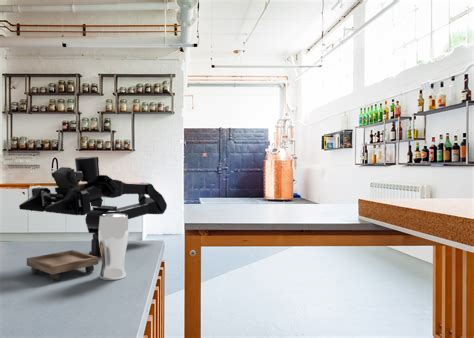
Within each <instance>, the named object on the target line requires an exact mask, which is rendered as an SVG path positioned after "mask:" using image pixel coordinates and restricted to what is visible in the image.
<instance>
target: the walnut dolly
mask: <svg viewBox="0 0 474 338" xmlns="http://www.w3.org/2000/svg"><path fill="white" fill-rule="evenodd" d="M98 265H99V256H97V255H93V254H88V253H84V252H81V251H76V250H72V249H70V250H66V251H60V252H55V253H49V254H44V255H37V256H31V257H26V266H27V267H30V270H31V273H32V275H35V274H39V273H40V272H41V271H42V272H44V273H47V274H50V280H51V282H55V281H58V280H60V277H61V275H60V273H65V272H69V271H70V272H71V271H76V270H78V269H83V268H84V270H85V272H86V273H87V274H90V273H94V272H95V271H94V270H95V266H98Z"/></svg>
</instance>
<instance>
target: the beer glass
mask: <svg viewBox="0 0 474 338" xmlns="http://www.w3.org/2000/svg"><path fill="white" fill-rule="evenodd" d="M129 231H130V230H129V219H128V215H127V214H103V215H100V220H99V246H100V252H101V256H100V257H101V269H100V273H99V279H101V280H103V281H116V280H122V279H124V278H125V277H126V276H127V274H126V273H127V272H126V266H125V260H126V259H125V258H126V251H127V247H128V242H129V241H128V240H129Z"/></svg>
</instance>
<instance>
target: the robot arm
mask: <svg viewBox="0 0 474 338" xmlns="http://www.w3.org/2000/svg"><path fill="white" fill-rule="evenodd" d="M74 163H75V164H74V165H75V168H71V167H69V166H68V167H67V166H66V167H64V166H61V167H59V168H58V169H56V170H54V171H53V172H52V173H51V177H52V178H53V180H54V182H55V184H56V186H57V187H54V192H55V193H54V192H51V189H49V188H48V187H39V186H38V187H33V188H32V189H31V197H29V198H28V199H27V200H24V202H22V203H20V204H19V206H18V208H19V210H23V211H30V212H32V211H33V212H39V213H40V212H41V213H43V212H45V213H50V214H51V213H52V214H61V215H69V216H70V215H71V216H85V219H84V220H85V225H86V227H87V230H88V233H89V234H92V239H91V246H90V248H91V250H90V251H89V255H92V256H96V257H101V252H100V246H99V220H100V215H103V214H127V215H128V220H130V219H134V218H138V217H141V216H144V215H163V214H164V213H166V210H167V206H168V205H167V202H166V200H165V198H164V196H163V195H162V194H161V193H160V192H159V191H158V190H157V189H156V188H155V187H154V185H153V183H149V182H137V183H136V182H123V181H122V180H120V179H116V178H111V177H110V176H108V175H107V174H100V168H99V167H100V166H99V163H100V161H99V157H98V156H89V157H87V156H86V157H83V156H82V157H81V156H79V157H75V158H74ZM80 182H81V184H79V183H80ZM122 195H138V199H137V201H138V203H134V204H130V205H126V206H123V207H121V206H120V207H118V206H117V205H116V206H111V205H103V201H104V199H103V198H106V199H109V198H110V199H113V198H114V199H115V198H119V197H121V196H122ZM147 195H148V196H147ZM146 196H147V197H146ZM91 207H92V208H91Z"/></svg>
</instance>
